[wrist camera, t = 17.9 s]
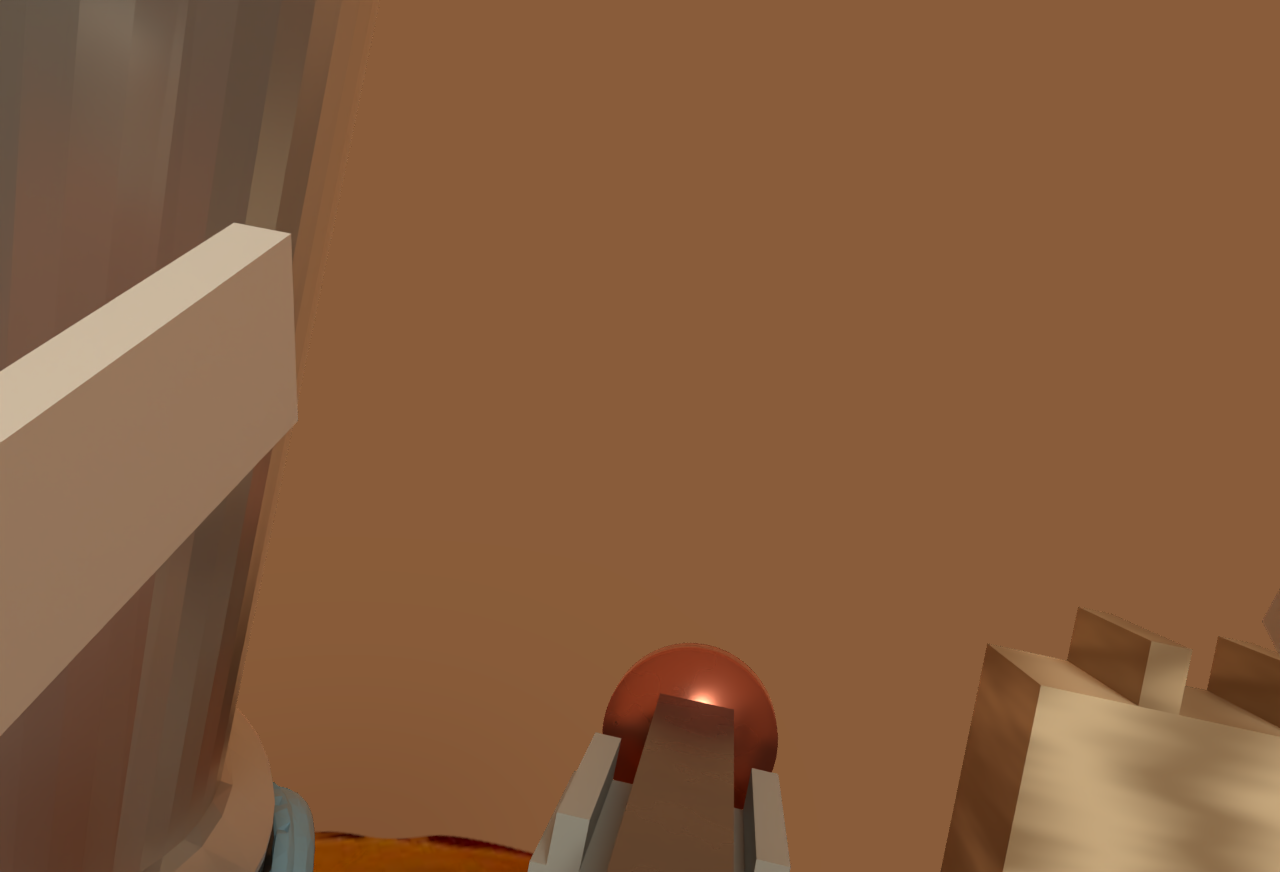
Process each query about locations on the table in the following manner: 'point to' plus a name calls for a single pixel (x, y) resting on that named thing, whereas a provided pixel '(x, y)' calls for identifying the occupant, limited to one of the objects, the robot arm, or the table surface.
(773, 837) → the tall grey block
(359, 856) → the table surface
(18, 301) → the robot arm
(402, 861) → the table surface
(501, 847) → the table surface
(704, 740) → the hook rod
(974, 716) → the beige patterned tall block
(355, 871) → the table surface
